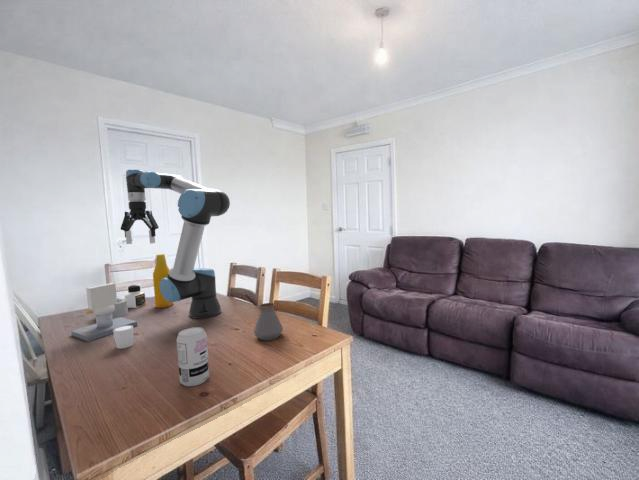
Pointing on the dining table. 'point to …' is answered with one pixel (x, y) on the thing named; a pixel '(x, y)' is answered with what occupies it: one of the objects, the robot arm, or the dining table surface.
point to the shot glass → (123, 336)
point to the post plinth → (101, 331)
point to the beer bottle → (158, 275)
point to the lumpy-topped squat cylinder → (120, 308)
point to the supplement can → (192, 356)
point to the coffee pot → (267, 321)
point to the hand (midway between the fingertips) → (140, 243)
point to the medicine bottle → (135, 297)
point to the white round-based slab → (101, 299)
